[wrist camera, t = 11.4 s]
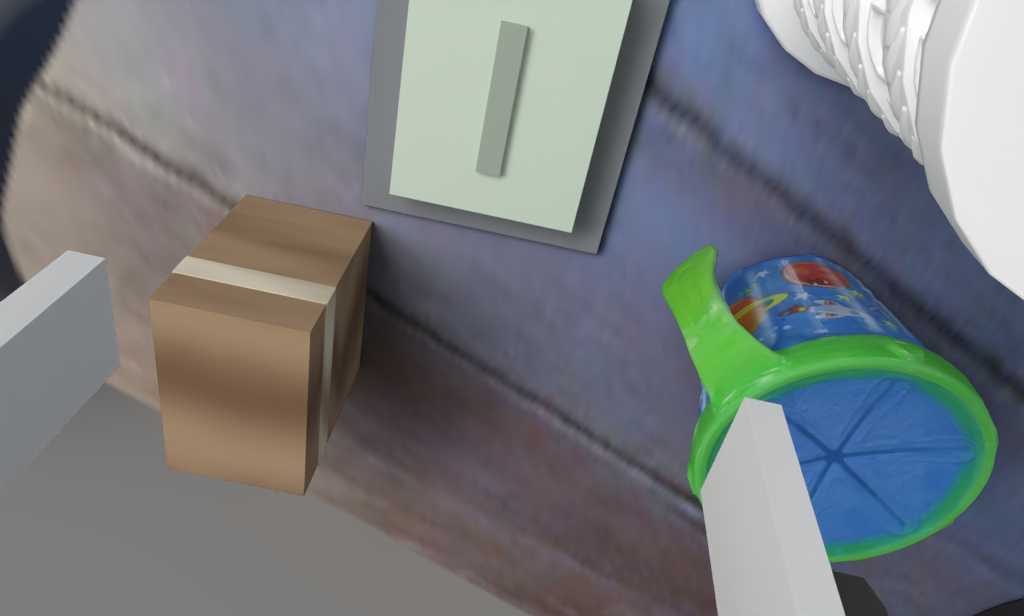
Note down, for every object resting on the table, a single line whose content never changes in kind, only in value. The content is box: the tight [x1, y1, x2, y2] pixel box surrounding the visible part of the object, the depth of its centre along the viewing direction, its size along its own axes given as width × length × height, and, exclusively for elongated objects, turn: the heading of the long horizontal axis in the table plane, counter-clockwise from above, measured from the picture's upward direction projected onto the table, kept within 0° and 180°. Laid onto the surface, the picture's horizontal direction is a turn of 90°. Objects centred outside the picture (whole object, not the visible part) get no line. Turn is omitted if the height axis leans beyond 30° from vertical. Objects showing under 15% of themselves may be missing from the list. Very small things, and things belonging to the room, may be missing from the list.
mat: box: [361, 0, 670, 254], centre depth 31 cm, size 13×11×1 cm
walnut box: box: [149, 195, 372, 496], centre depth 34 cm, size 9×6×9 cm
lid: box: [389, 0, 632, 233], centre depth 30 cm, size 10×8×2 cm
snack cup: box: [662, 245, 998, 562], centre depth 31 cm, size 16×10×10 cm
